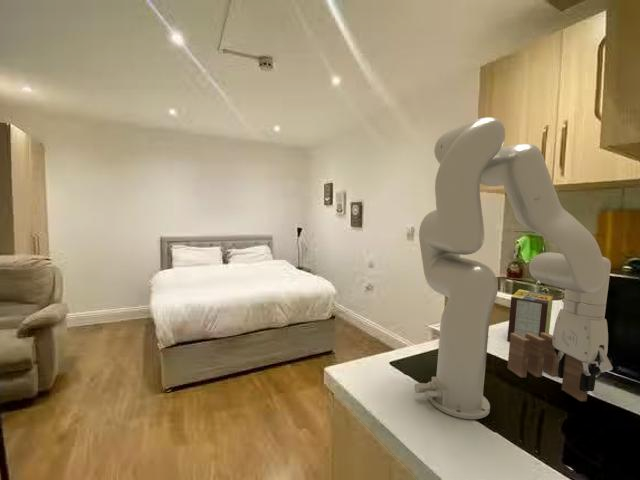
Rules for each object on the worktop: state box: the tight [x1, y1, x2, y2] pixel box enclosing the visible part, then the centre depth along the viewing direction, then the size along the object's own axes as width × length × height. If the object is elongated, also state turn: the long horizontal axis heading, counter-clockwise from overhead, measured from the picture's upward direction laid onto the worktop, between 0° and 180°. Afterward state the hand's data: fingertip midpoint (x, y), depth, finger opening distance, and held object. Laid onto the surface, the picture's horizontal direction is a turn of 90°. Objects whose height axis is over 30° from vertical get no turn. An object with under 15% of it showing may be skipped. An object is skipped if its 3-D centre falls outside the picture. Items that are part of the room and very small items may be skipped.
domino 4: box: [560, 354, 592, 402], centre depth 77 cm, size 2×5×10 cm, turn 8°
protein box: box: [506, 288, 554, 343], centre depth 112 cm, size 10×15×16 cm
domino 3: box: [540, 333, 559, 378], centre depth 88 cm, size 2×5×10 cm, turn 8°
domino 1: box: [506, 333, 530, 379], centre depth 87 cm, size 2×5×10 cm, turn 8°
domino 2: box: [525, 333, 546, 378], centre depth 88 cm, size 2×5×10 cm, turn 8°
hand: (575, 383), depth 77 cm, fingers open, 5 cm apart
